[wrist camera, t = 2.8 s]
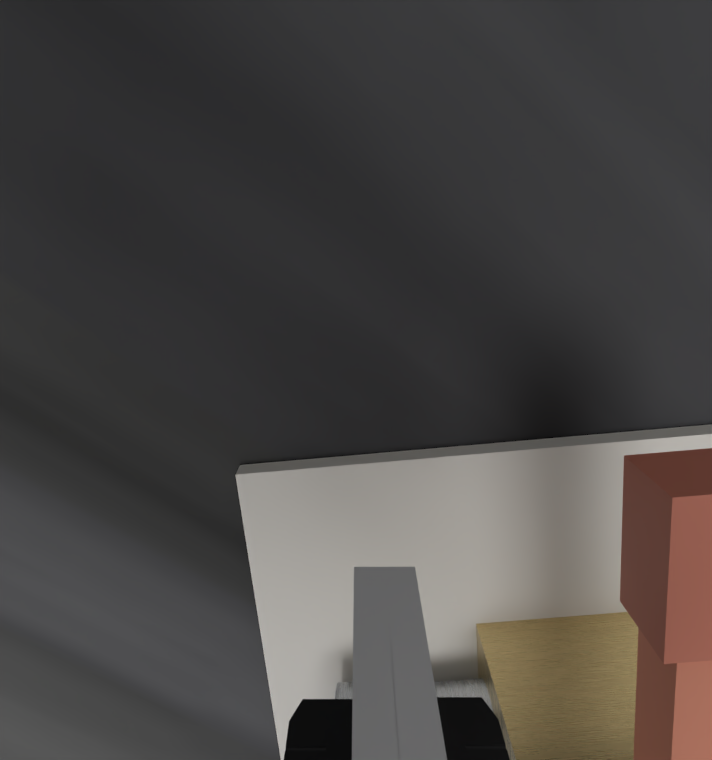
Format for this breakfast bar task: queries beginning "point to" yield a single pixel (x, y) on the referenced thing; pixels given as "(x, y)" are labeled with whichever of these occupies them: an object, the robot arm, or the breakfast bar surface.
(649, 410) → the breakfast bar surface
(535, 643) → the valve body
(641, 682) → the lever
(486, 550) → the mounting board
